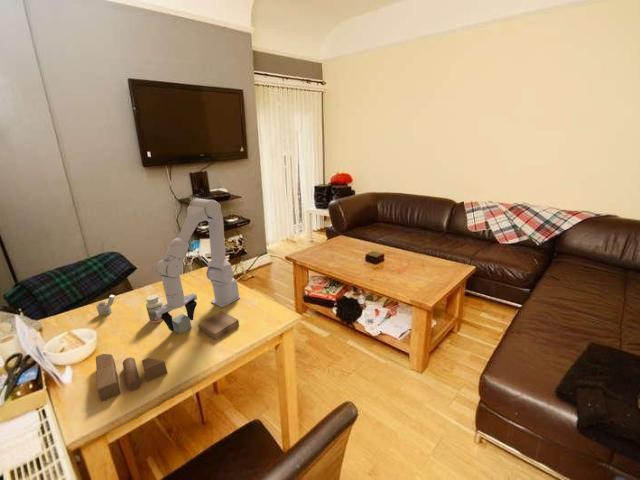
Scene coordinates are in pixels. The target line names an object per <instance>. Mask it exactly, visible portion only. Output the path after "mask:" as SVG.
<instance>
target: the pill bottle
mask: <svg viewBox="0 0 640 480" xmlns="http://www.w3.org/2000/svg"><path fill="white" fill-rule="evenodd" d="M145 300H146V305H145V307H146V311H147V315H148V319H149V322H150V323H151V324H156V323H157V324H158V323H161V322H162V321H164V320H163V319H162V318H161V317H160V318H159V317H157V316H156V313H155V311H157V310H159V309H160V308H161V307H163V306H164V305H163V302H162V300H161V299H160V298H159V296H158V294H151V295H148V296H147V297H146V298H145Z"/></svg>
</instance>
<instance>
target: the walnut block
mask: <svg viewBox="0 0 640 480" xmlns="http://www.w3.org/2000/svg"><path fill="white" fill-rule="evenodd" d="M239 322H240V321H239V319H237V318H236V317H234V316H232V315H229V314H228V313H226V312H224V311H222V310H220V311H218V312H217V313H216V314H214V315H212V316H210V317H209V318H207V319H205V320H203V321H201V322H199V323H198V324H197V325H198V330H199V331H200V332H201V333H203V334H205V335H206V336H208V337H210V338H212V339H214V340H216V341H218V340H219V339H220V338H222V337H223V336H225V335H227V334H229V333H231V331H233V330H234V329H236V328H238V327H239V326H240V323H239Z"/></svg>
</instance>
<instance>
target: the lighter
mask: <svg viewBox="0 0 640 480" xmlns="http://www.w3.org/2000/svg"><path fill="white" fill-rule="evenodd" d="M115 297H116V295H115V294H110V295H109V297H108V300H107V303H106V301H100V302H99V303H98V304H97V305H96V310H97V312H98V316H99V315H101V316H108V314H110V315H111V314H112V313H113V311H112V308H111V306H112V305H113V304H114V300H115Z"/></svg>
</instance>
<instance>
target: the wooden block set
mask: <svg viewBox="0 0 640 480" xmlns="http://www.w3.org/2000/svg"><path fill="white" fill-rule="evenodd" d="M122 361H123V362H122V366H123V367H122V368H123V372H124V378H125V384H126V387H127V388H126V389H128V390H129V391H135V390H138V389H139V387H140V386H141V379H140V375H139V371H138V368H137V364H136V360H135V357H130V356H129V357H127V358H125V359H124V360H122ZM95 365H96V371H95V378H96V379H95V381H96V382H95V383H96V391H97V394H98V396H99V399H100V402H105V401H108V400H110V399H112V398H116V397H117V396H119V395H121V388H120V381H119V375H118V373H117V367H116V362H115V359H114V356H113V355H112V353H111V354H110V353H101V354H98V355H96V356H95ZM141 365H142V368H143V371H144V374H145V378H146V382H150V381H153V380H155V379H157V378H160V377H162V376H164V375H167V374H168V373H169V371H168V368H167V366H166V361H164V360H159V359H154V358H152V357H151V358H150V357H147V358H144V359H142V360H141Z"/></svg>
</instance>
